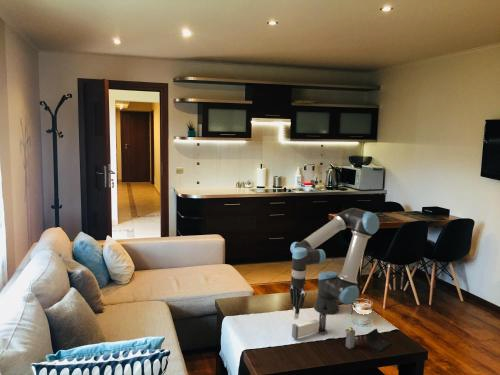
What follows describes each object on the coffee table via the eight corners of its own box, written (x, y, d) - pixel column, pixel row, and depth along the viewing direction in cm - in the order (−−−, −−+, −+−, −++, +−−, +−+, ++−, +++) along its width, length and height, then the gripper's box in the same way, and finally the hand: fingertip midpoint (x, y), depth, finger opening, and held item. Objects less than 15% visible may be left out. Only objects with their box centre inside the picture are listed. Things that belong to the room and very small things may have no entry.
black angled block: (384, 350, 206) (374, 330, 209) (372, 354, 210) (363, 335, 213) (392, 344, 215) (383, 325, 219) (380, 348, 219) (371, 330, 222)
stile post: (344, 346, 211) (345, 328, 210) (349, 344, 213) (351, 326, 212) (348, 349, 209) (349, 330, 207) (354, 347, 211) (355, 329, 209)
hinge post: (313, 330, 226) (314, 313, 225) (322, 328, 229) (323, 311, 228) (321, 335, 221) (322, 318, 220) (329, 333, 224) (330, 316, 222)
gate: (291, 336, 217) (292, 324, 216) (315, 330, 225) (315, 318, 223) (295, 339, 214) (295, 326, 213) (318, 332, 222) (319, 320, 221)
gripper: (285, 273, 224) (283, 314, 228) (300, 281, 213) (297, 325, 217) (296, 271, 228) (294, 312, 232) (311, 279, 217) (308, 322, 221)
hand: (295, 318), depth 224 cm, fingers closed
